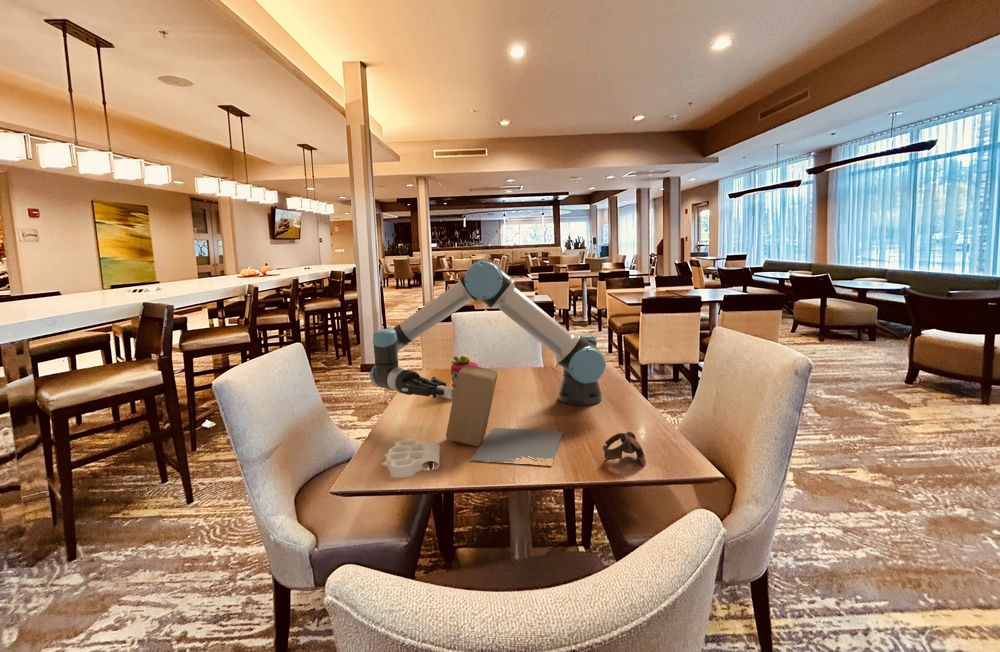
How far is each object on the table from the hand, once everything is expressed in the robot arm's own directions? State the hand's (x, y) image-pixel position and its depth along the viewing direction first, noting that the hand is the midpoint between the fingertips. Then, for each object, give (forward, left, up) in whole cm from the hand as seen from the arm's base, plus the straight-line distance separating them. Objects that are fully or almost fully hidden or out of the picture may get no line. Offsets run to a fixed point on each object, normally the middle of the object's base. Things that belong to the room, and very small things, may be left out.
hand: (453, 393), depth 144 cm
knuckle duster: (+6, +17, -14) cm, 23 cm away
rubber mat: (-19, +2, -14) cm, 24 cm away
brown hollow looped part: (-48, +7, -14) cm, 50 cm away
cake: (+12, -48, -14) cm, 51 cm away
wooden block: (-3, +1, -13) cm, 13 cm away
